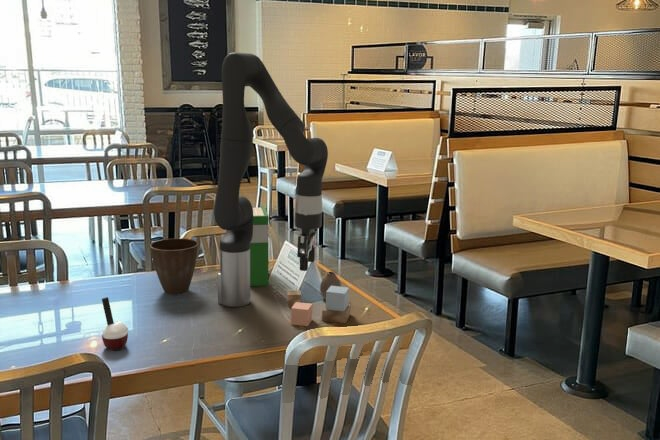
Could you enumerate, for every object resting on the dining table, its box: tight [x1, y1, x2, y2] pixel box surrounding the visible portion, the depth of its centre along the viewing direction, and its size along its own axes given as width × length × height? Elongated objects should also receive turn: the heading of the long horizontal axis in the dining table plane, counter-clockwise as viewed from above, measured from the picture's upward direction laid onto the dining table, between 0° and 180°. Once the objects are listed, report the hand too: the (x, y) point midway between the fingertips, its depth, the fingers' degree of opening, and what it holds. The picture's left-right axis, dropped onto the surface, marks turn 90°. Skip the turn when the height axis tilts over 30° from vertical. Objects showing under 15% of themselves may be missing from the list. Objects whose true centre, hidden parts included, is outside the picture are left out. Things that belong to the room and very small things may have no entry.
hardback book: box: [250, 204, 270, 287], centre depth 216 cm, size 18×7×24 cm, turn 11°
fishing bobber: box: [101, 297, 129, 351], centre depth 160 cm, size 10×6×12 cm, turn 22°
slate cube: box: [325, 286, 350, 312], centre depth 183 cm, size 6×6×6 cm
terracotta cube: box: [290, 302, 313, 327], centre depth 180 cm, size 5×5×5 cm
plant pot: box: [149, 238, 199, 296], centre depth 201 cm, size 15×15×16 cm
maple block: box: [286, 289, 302, 308], centre depth 193 cm, size 4×4×4 cm
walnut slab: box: [321, 303, 351, 324], centre depth 184 cm, size 7×7×4 cm
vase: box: [319, 271, 343, 301], centre depth 198 cm, size 7×7×9 cm
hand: (307, 265), depth 177 cm, fingers open, 8 cm apart
